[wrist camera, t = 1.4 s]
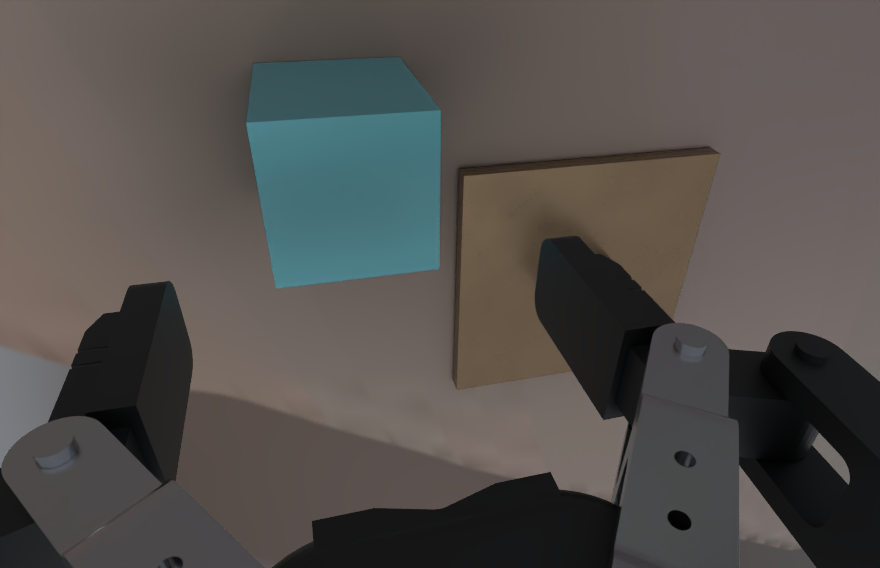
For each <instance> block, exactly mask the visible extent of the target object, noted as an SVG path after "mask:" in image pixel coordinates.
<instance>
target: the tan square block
mask: <svg viewBox="0 0 880 568" xmlns="http://www.w3.org/2000/svg"><path fill="white" fill-rule="evenodd" d="M719 157H720V153H719V152H717V151H715V150H713V149H712V148H710V147H708V148H697V149H685V150H673V151H662V152H650V153H638V154H626V155H615V156H603V157H591V158H580V159H568V160H556V161H545V162H533V163H521V164H510V165H498V166H486V167H474V168H463V169H459V182H458V217H457V253H456V289H455V325H454V360H453V381H454V384H455V387H456V389H457V390H459V389H465V388H472V387H478V386H484V385H490V384H496V383H502V382H508V381H514V380H521V379H527V378H533V377H539V376H545V375H551V374H557V373H563V372H570V371H572V370H571V369H570V367H569V365H568V364H567V362H566V361H565V359H564V358H563V356H562V355H561V353H560V351H559V350H558V348H557V347H556V345H555V344H554V342H553V341H552V339H551V337H550V336H549V334H548V333H547V331H546V330H545V328H544V327H543V325H542V323H541V322H540V320H539V318H538V316H537V312H536V308H535V288H536V280H537V272H538V264H539V257H540V249H541V245H542V242H543V241H544V240H545V239H549V238H557V237H566V236H578V237H580V238H581V239H582V241H583V242H584V243H585V244H586V245H587V246H588V247H589V248H590V249H591V250H592V251H593V253H594V254H602V255H604V256H606V257H607V258H609V259H611V260H613V261H615V262H617V263H618V264H620V265H621V266H622V267H623V268H624V270H625V271H626V272H627V273H628V274H629V275H630V276H631V277H632V280H635V281H636V282H637V283H638V284H639V285H640V286H641V287H642V290H645V291H646V293H647V294H648V295H649V296H650V297H651V298H652V299H653V300H654V301H655V302H656V303H657V304H658V305H659V306H660V307H661V308H662V309H663V310H664V311H665V312H666V313H667V314H668V316H669V317H670V318H671V319H673V316H674V313H675V309H676V306H677V302H678V299H679V295H680V292H681V288H682V285H683V281H684V278H685V275H686V271H687V268H688V264H689V261H690V257H691V254H692V250H693V247H694V243H695V240H696V237H697V233H698V230H699V226H700V223H701V219H702V216H703V212H704V209H705V205H706V202H707V199H708V195H709V192H710V188H711V185H712V181H713V178H714V174H715V171H716V168H717V164H718V161H719Z"/></svg>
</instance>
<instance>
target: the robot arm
mask: <svg viewBox="0 0 880 568" xmlns="http://www.w3.org/2000/svg"><path fill="white" fill-rule="evenodd" d="M535 308H536V312H537V316H538V318H539V320H540V322H541V323H542V325H543V327H544V328H545V330H546V331H547V333H548V334H549V336H550V337H551V339H552V341H553V342H554V344H555V345H556V347H557V348H558V350H559V351H560V353H561V355H562V356H563V358H564V359H565V361H566V362H567V364H568V365H569V367H570V369H571V370H572V372H573V373H574V375H575V376H576V378H577V379H578V381H579V383H580V384H581V386H582V387H583V389H584V390H585V392H586V393H587V395H588V397H589V398H590V400H591V401H592V403H593V404H594V406H595V407H596V409H597V411H598V412H599V414H600V415H601V417H602V418H603V420H605V419H611V418H616V417H621V416H625V418H626V419H627V421H628V425H627V429H626V433H625V437H624V442H623V446H622V451H621V456H620V461H619V465H618V470H617V475H616V480H615V484H614V489H613V494H612V498H611V502H609V501H606V500H603V499H601V498H598V497H595V496H592V495H588V494H584V493H580V492H574V491H567V490H559V489H558V487H557V485H556V483H555V481H554V479H553V476H552V474H551V472H548V473H543V474H538V475H534V476H529V477H524V478H519V479H514V480H509V481H505V482H500V483H495V484H493V485H491V486H489V487H487V488H485V489H483V490H481V491H479V492H476V493H474V494H473V495H470V496H468V497H466V498H464V499H462V500H460V501H458V502H456V503H454V504H451V505H449V506H448V507H445V508H443V509H436V510H428V509H386V508H373V509H368V510H364V511H359V512H354V513H349V514H345V515H339V516H335V517H330V518H325V519H320V520H315V521H312V527H313V542H311V543H308V544H306V545H304V546H302V547H301V548H299V549H297V550H296V551H294V552H292V553H291V554H289V555H287V556H286V557H285V558H284V559H282V560H281V561H280V562H278V563H277V564H276V565H275V566H273V567H272V568H739V465H740V466H741V468H742V469H743V470H744V472H745V473H746V474H747V476H748V477H749V478H750V480H751V481H752V482H753V484H754V485H755V486H756V488H757V489H758V490H759V492H760V493H761V494H762V496H763V497H764V498H765V500H766V501H767V502H768V504H769V505H770V506H771V508H772V509H773V510H774V512H775V513H776V514H777V516H778V517H779V518H780V520H781V521H782V522H783V524H784V525H785V526H786V528H787V529H788V530H789V532H790V533H791V534H792V536H793V537H794V538H795V540H796V541H797V542H798V544H799V545H800V546H801V548H802V549H803V550H804V551H805V553H806V554H807V555H808V557H809V558H810V559H811V561H812V562H813V563H814V565H815V566H816V567H817V568H880V382H879V381H878V380H877V379H876V378H875V377H873V376H872V375H871V374H870V373H869V372H868V371H866V370H865V369H864V368H863V367H862V366H861V365H859V364H858V363H857V362H856V361H855V360H854V359H852V358H851V357H850V356H849V355H848V354H847V353H845V352H844V351H843V350H842V349H840V348H839V347H838V346H836V345H835V344H833V343H831V342H830V341H828V340H826V339H823V338H821V337H818V336H815V335H812V334H808V333H804V332H797V331H786V332H781V333H778V334H776V335H774V336H773V337H772V338H771V340H770V343H769V345H768V347H767V350H766V352H757V351H743V350H731V349H728V348H727V346H726V345H725V343H724V342H723V341H722V340H721V339H720V338H719V337H718V336H716V335H715V334H713V333H712V332H710V331H708V330H706V329H704V328H701V327H698V326H695V325H691V324H685V323H675V322H674V321H673V320H672V319H671V318H670V317H669V316H668V314H667V313H666V312H665V311H664V310H663V309H662V308H661V307H660V306H659V305H658V304H657V303H656V302H655V301H654V300H653V299H652V298H651V297H650V296H649V295H648V294H647V293H646V291H645V290H642V287H641V286H640V285H639V284H638V283H637V282H636V281H635V280H632V277H631V276H630V275H629V274H628V273H627V272H626V271H625V270H624V268H623V267H622V266H621V265H620V264H618V263H617V262H615V261H613V260H611V259H609V258H607V257H606V256H604V255H602V254H594V253H593V251H592V250H591V249H590V248H589V247H588V246H587V245H586V244H585V243H584V242H583V241H582V239H581V238H580V237H578V236H566V237H557V238H549V239H545V240H544V241H543V242H542V245H541V249H540V257H539V264H538V272H537V280H536V288H535ZM71 366H72V369H70V370H69V372H68V375H67V377H66V380H65V382H64V385H63V387H62V390H61V392H60V394H59V397H58V399H57V402H56V404H55V407H54V409H53V411H52V414H51V416H50V419H49V421H48V423H46V424H43V425H41V426H39V427H37V428H36V429H34V430H32V431H30V432H29V433H28V434H26V435H25V436H23V437H22V438H21V439H19V440H18V441H17V442H16V443H15V444H14V445H13V446H12V447H11V449H10V450H9V451H8V453H7V454H6V456H5V458H4V460H3V462H2V467H1V468H0V568H265V567H264V566H263V565H262V564H261V563H260V562H258V560H257V559H256V558H255V557H253V556H252V555H251V554H250V553H249V552H248V551H247V550H246V549H245V548H244V547H243V546H242V545H241V544H240V543H239V542H238V541H237V540H236V539H235V538H234V537H233V536H232V535H231V534H230V533H229V532H228V531H227V530H226V529H224V527H223V526H222V525H221V524H220V523H219V522H217V520H215V519H214V518H213V517H212V516H211V515H210V514H209V513H208V512H207V511H206V510H205V509H204V508H203V507H202V506H201V505H200V504H199V503H198V502H197V501H196V500H195V499H194V498H193V497H192V496H191V495H190V494H189V493H188V492H187V491H186V490H185V489H183V487H182V486H180V485H179V484H178V483H177V482H176V475H177V468H178V461H179V455H180V448H181V442H182V435H183V428H184V422H185V415H186V409H187V403H188V396H189V390H190V383H191V377H192V369H193V358H192V349H191V344H190V339H189V336H188V333H187V329H186V326H185V322H184V319H183V315H182V312H181V308H180V305H179V302H178V298H177V295H176V291H175V288H174V286H173V284H172V283H171V282H170V281H166V282H158V283H149V284H140V285H132V286H129V288H128V290H127V293H126V295H125V298H124V301H123V304H122V307H121V310H120V312H114V313H105V314H103V315H102V316H101V317H100V318H99V319H98V320H97V321H96V322H95V323H94V324H92V325H91V326H90V327H89V328H88V329H87V330H86V331H85V333H84V336H83V338H82V341H81V343H80V346H79V348H78V354H76V355H75V358H74V360H73V363H72V365H71ZM818 433H820V434H821V435H822V436H823V437H824V438H825V439H826V440H827V441H828V442H829V443H830V444H831V445H832V447H833V448H834V449H835V450H836V451H837V452H838V453H839V454H840V455H841V456H842V457H843V459H844V460H845V462H846V464H847V466H848V469H849V473H850V483H849V485H848V484H847V483H846V482H845V481H844V480H843V479H842V477H841V476H840V475H839V474H838V473H837V472H836V471H835V470H834V469H833V468H832V466H831V465H830V464H829V463H828V462H827V461H826V460H825V459H824V458H823V457H822V456H821V454H820V453H819V452H818V451H817V450H816V449H815V448H814V447H813V446H812V444H813V442H814V440H815V439H816V437H817V435H818Z"/></svg>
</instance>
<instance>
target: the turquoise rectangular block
mask: <svg viewBox="0 0 880 568" xmlns="http://www.w3.org/2000/svg"><path fill="white" fill-rule="evenodd" d="M246 126H247V131H248V137H249V142H250V148H251V153H252V159H253V164H254V170H255V176H256V181H257V187H258V192H259V198H260V203H261V209H262V214H263V220H264V226H265V231H266V237H267V242H268V248H269V253H270V259H271V264H272V270H273V276H274V281H275V287H276V289H277V288H286V287H294V286H302V285H311V284H319V283H327V282H336V281H344V280H352V279H361V278H369V277H377V276H386V275H394V274H402V273H411V272H419V271H427V270H436V269H439V268H440V161H441V110H440V108H439V107H438V106H437V104H436V103H435V102H434V101H433V99H432V98H431V97H430V96H429V94H428V93H427V92H426V90H425V89H424V88H423V87H422V85H421V84H420V83H419V81H418V80H417V79H416V78H415V76H414V75H413V74H412V72H411V71H410V70H409V69H408V67H407V66H406V65H405V63H404V62H403V61H402V60H401V58H400V57H383V58H360V59H338V60H316V61H294V62H272V63H253V70H252V78H251V86H250V94H249V102H248V111H247V119H246Z"/></svg>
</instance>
